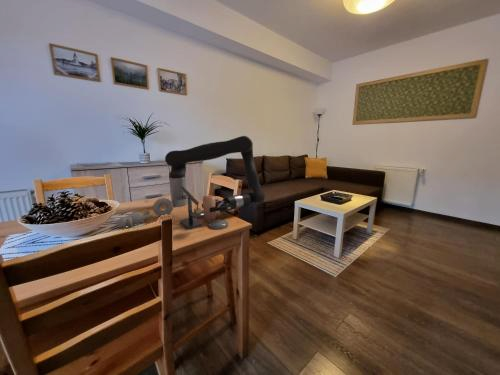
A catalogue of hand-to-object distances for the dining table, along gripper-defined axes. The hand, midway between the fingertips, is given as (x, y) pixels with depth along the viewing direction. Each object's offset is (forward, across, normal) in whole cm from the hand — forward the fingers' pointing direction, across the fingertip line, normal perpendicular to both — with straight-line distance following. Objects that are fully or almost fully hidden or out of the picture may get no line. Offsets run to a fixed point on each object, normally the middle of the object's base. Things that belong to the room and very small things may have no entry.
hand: (205, 208), depth 102 cm
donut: (+15, -19, +7) cm, 25 cm away
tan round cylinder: (-2, 0, +7) cm, 7 cm away
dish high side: (-2, -9, +7) cm, 11 cm away
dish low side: (-2, +9, +7) cm, 11 cm away
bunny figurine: (+29, -18, +7) cm, 34 cm away
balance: (+8, 0, +7) cm, 10 cm away
